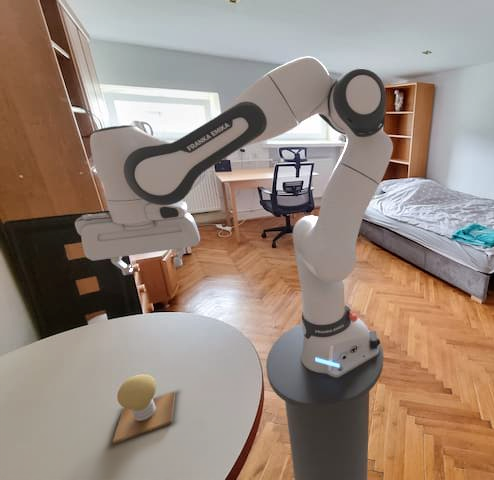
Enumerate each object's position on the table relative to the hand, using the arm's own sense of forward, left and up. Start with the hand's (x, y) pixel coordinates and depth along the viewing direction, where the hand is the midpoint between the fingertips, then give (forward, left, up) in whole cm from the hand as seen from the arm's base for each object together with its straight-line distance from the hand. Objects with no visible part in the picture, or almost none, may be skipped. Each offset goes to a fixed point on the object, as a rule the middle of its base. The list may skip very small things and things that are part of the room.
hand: (154, 269), depth 64 cm
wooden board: (+6, +12, -29) cm, 32 cm away
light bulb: (+6, +12, -29) cm, 32 cm away
